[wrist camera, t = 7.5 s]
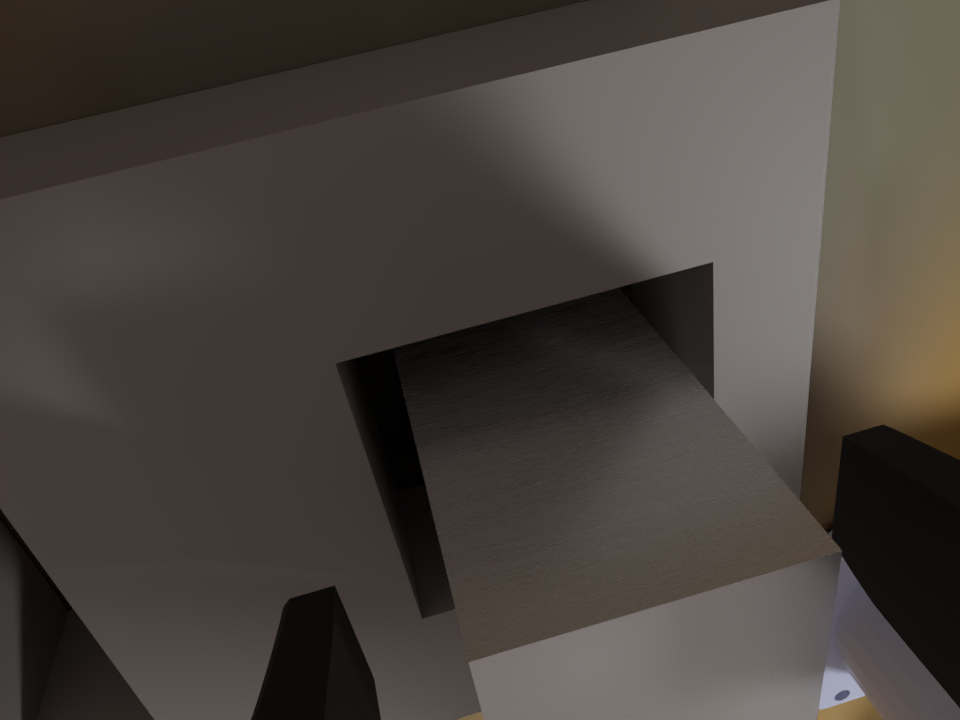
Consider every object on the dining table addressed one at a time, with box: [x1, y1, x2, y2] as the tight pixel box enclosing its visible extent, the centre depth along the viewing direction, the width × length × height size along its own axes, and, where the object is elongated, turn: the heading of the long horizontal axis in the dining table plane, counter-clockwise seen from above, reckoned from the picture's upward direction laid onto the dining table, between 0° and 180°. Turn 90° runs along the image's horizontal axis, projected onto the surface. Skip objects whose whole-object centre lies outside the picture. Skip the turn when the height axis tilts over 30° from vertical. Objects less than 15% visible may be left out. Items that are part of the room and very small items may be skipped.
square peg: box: [392, 287, 842, 720], centre depth 12 cm, size 4×4×8 cm
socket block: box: [0, 0, 840, 720], centre depth 13 cm, size 18×12×4 cm, turn 99°
